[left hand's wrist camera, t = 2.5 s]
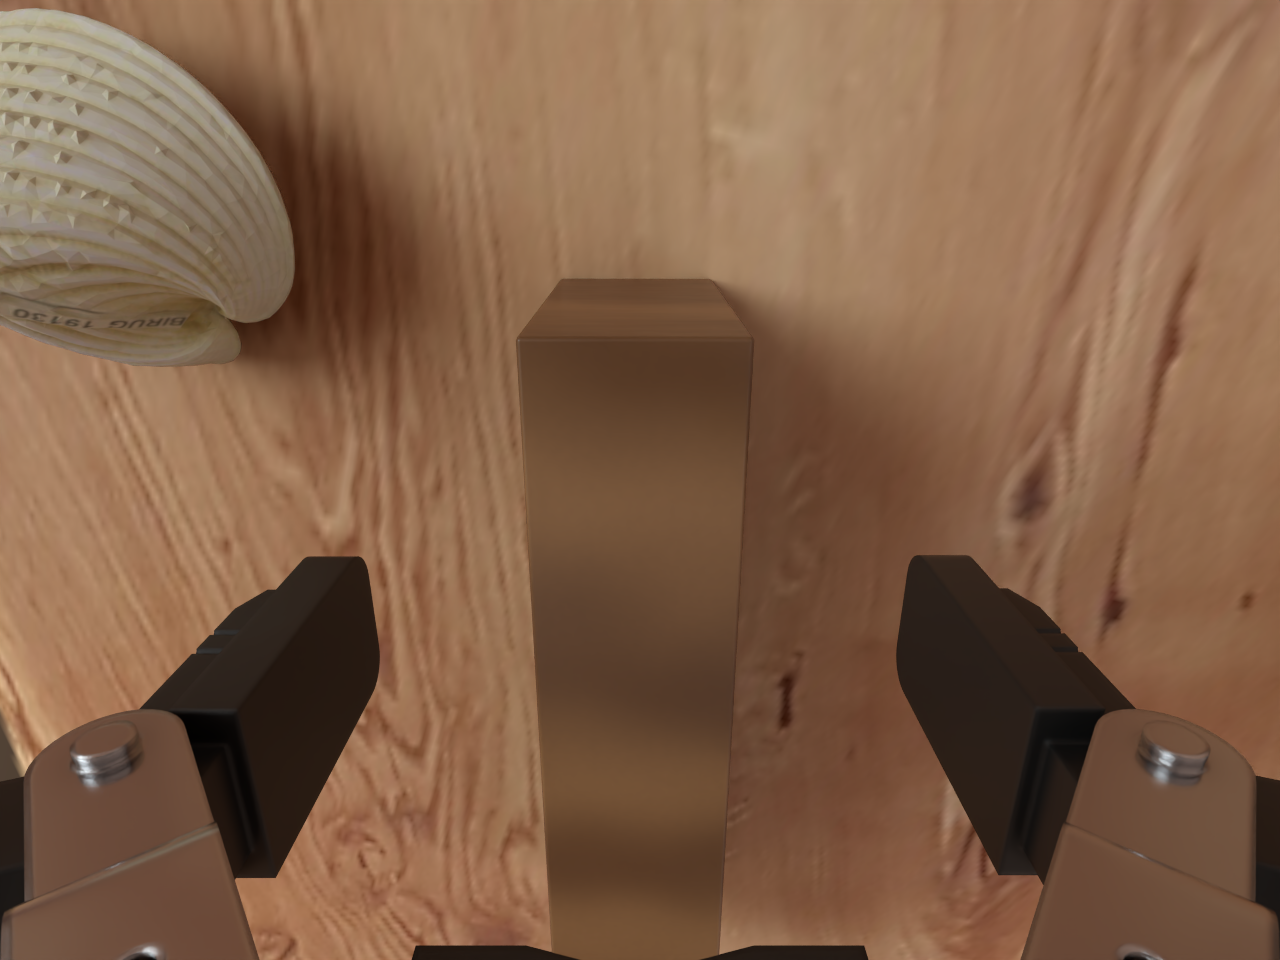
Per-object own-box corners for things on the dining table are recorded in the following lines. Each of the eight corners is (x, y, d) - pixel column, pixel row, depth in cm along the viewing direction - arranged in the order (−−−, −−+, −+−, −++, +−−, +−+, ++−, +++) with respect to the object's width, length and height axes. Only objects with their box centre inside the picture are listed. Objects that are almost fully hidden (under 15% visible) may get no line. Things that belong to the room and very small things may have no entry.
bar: (560, 278, 23) (515, 337, 15) (711, 278, 23) (754, 337, 15) (581, 871, 32) (561, 1120, 24) (690, 871, 32) (710, 1120, 24)
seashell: (177, 459, 23) (-196, 332, 17) (236, 256, 27) (-48, 102, 22) (319, 332, 18) (-122, 107, 13) (363, 112, 23) (45, -126, 17)
